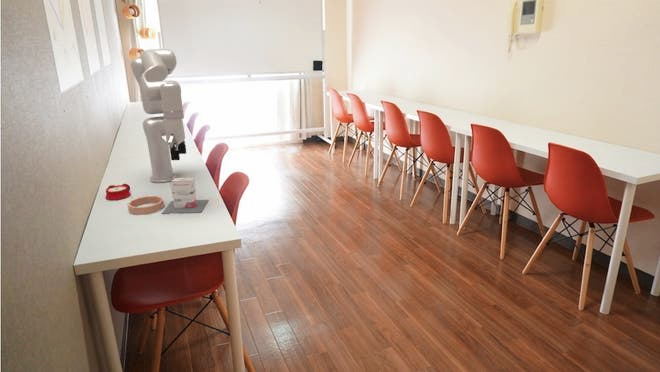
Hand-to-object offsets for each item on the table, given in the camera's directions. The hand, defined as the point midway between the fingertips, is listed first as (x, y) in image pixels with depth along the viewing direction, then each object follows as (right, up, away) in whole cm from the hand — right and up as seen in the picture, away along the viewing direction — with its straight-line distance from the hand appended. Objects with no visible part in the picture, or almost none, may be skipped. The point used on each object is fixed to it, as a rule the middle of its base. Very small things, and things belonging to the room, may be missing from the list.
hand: (179, 156), depth 179 cm
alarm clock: (-36, -17, +23) cm, 45 cm away
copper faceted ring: (-16, -21, +7) cm, 28 cm away
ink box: (0, -20, +8) cm, 22 cm away
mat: (0, -21, +7) cm, 22 cm away
